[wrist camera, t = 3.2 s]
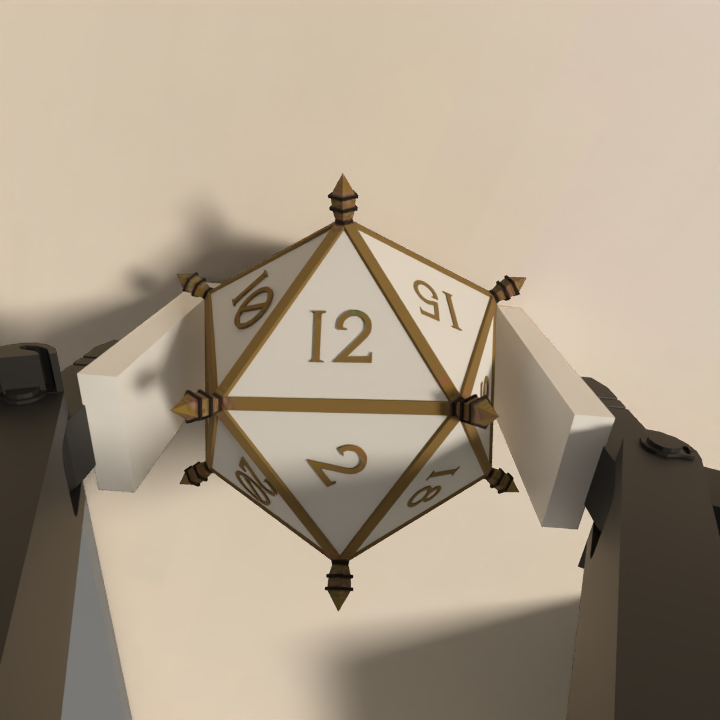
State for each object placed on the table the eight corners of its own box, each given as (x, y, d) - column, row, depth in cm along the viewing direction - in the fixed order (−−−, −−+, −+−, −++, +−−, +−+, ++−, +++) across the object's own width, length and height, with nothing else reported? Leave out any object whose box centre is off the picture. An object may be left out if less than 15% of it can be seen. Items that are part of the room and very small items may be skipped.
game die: (380, 336, 20) (377, 614, 15) (166, 253, 16) (69, 603, 11) (578, 202, 13) (682, 622, 8) (301, -5, 9) (202, 600, 4)
